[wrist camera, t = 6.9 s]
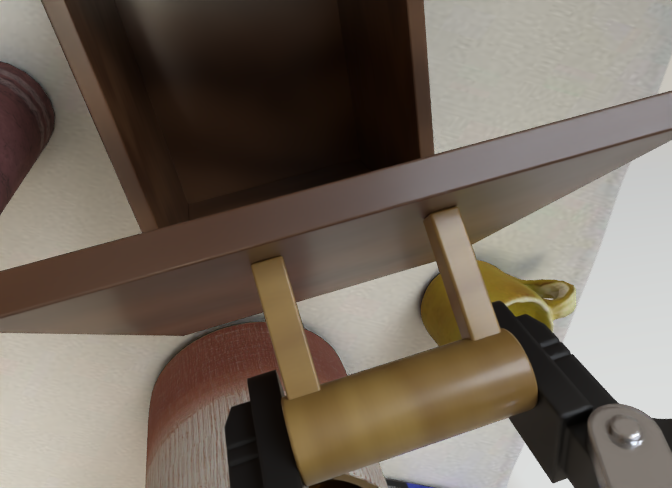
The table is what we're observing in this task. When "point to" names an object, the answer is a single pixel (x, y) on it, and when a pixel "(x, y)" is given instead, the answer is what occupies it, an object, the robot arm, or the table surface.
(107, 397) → the table surface
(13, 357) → the table surface
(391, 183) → the lid
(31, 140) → the can
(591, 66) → the table surface
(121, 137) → the wooden box
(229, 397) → the planter
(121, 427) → the table surface
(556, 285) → the mug
